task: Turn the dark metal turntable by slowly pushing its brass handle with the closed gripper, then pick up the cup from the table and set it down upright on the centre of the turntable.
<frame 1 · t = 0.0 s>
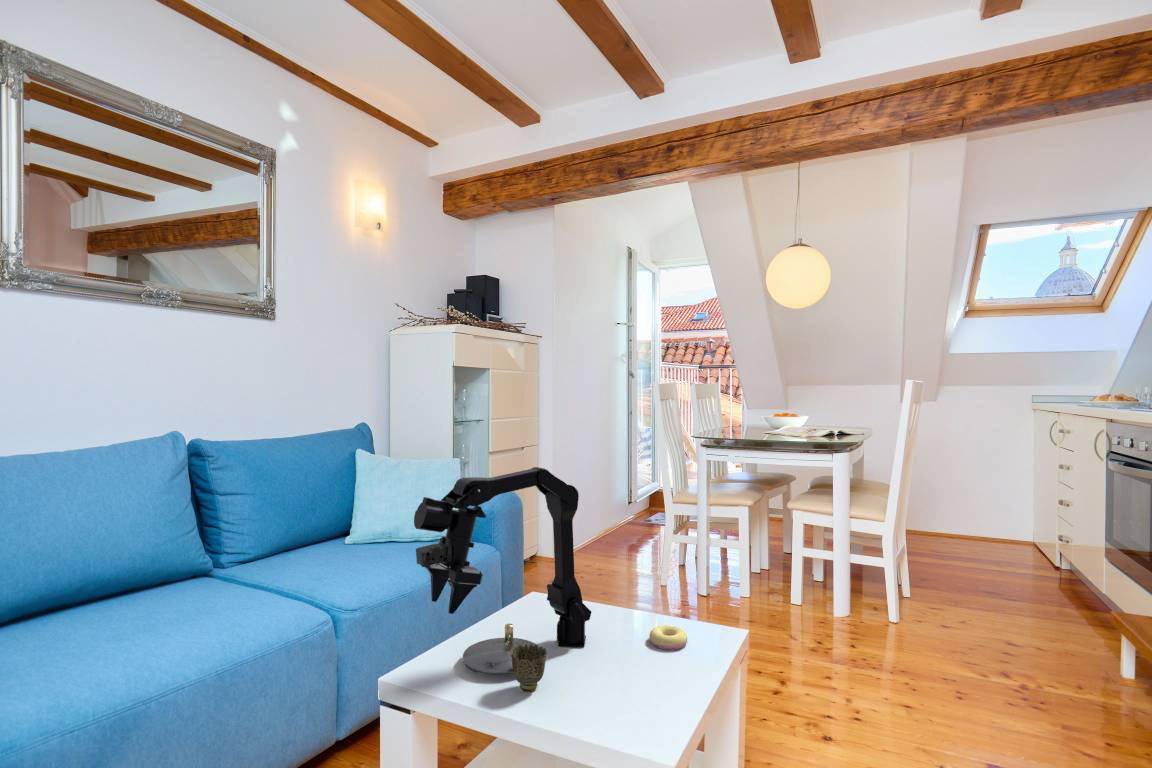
hand: (442, 607, 130), 15 cm above the table, tool pointing down, fingers open, 9 cm apart
donut: (668, 644, 150), on the table
cup: (528, 690, 126), on the table
turntable: (502, 647, 138), point 3 cm above the table, hinge at 0.0°
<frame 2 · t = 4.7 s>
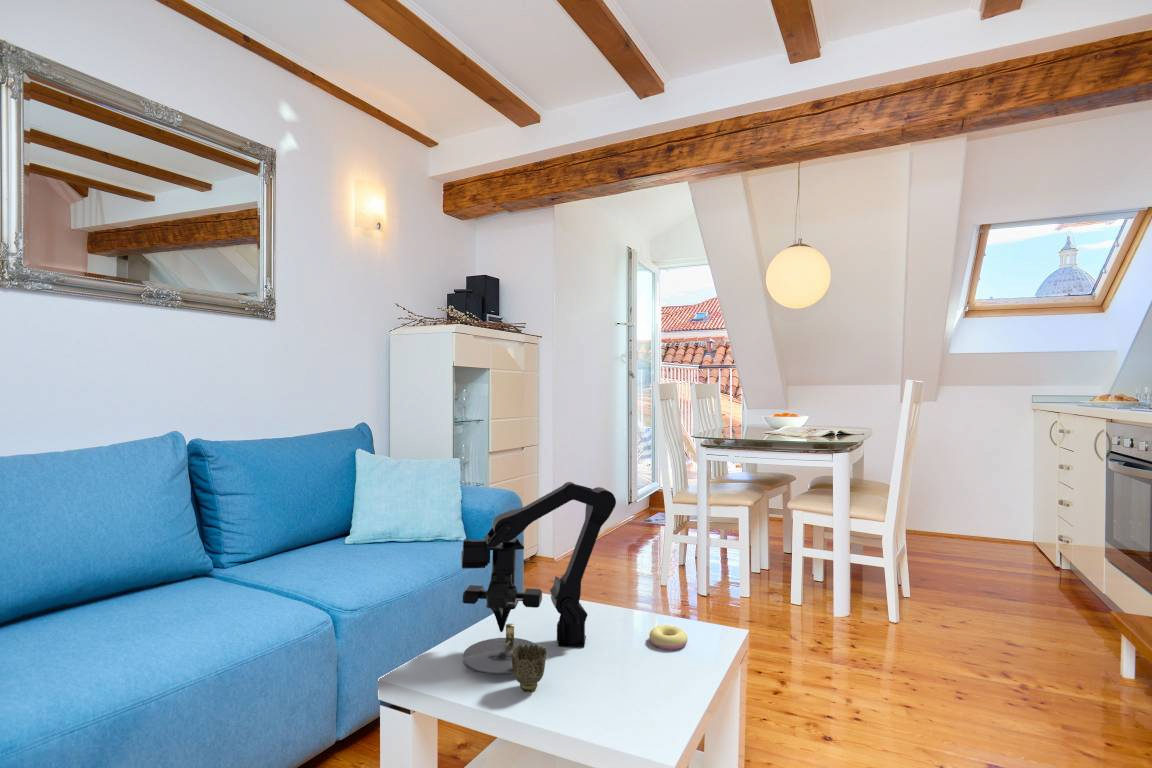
hand: (501, 631, 146), 4 cm above the table, tool pointing down, fingers closed
turntable: (502, 647, 138), point 3 cm above the table, hinge at -1.8°, touching gripper
everything else where it was.
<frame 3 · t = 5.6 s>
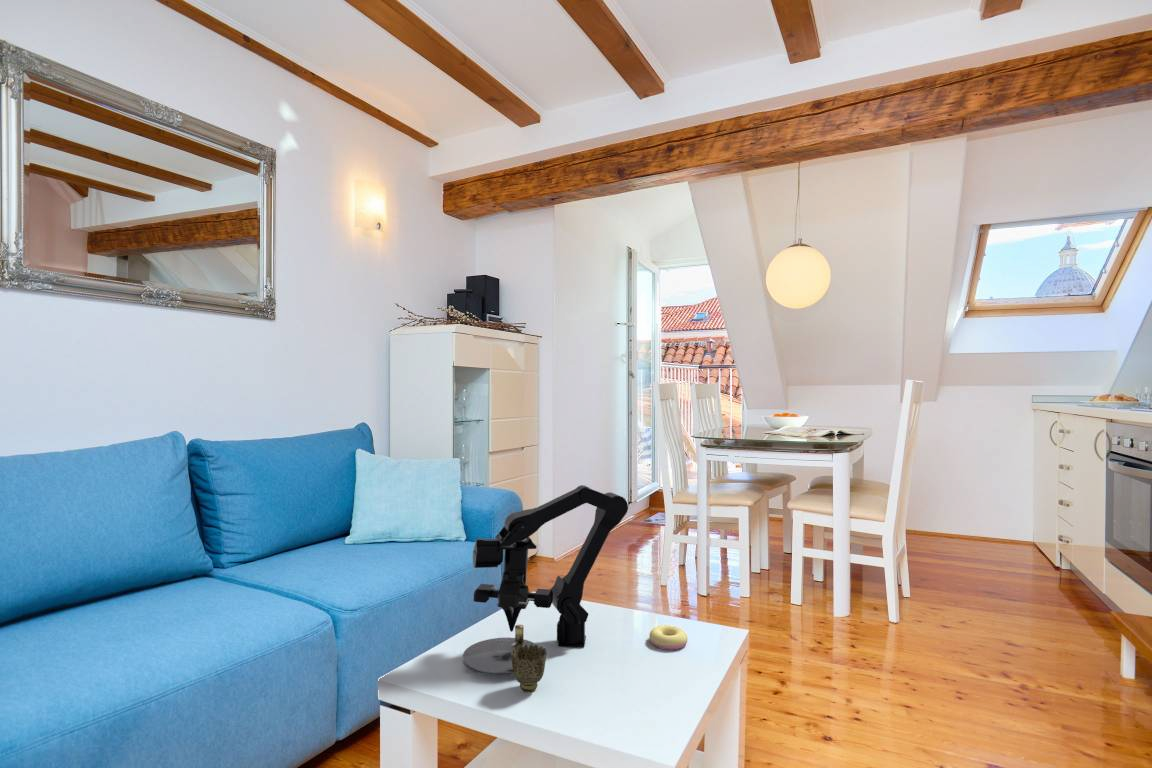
hand: (511, 631, 146), 4 cm above the table, tool pointing down, fingers closed
turntable: (502, 647, 138), point 3 cm above the table, hinge at -19.7°, touching gripper
everything else where it was.
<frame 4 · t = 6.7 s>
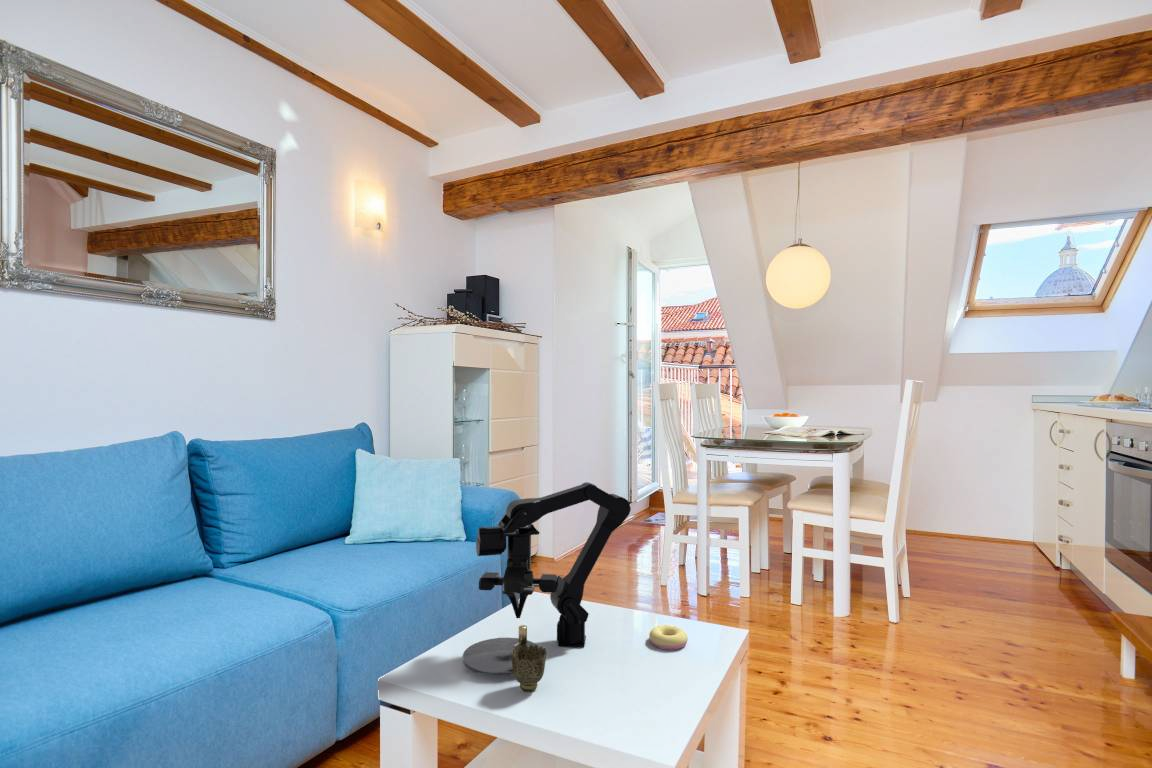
hand: (518, 617, 146), 8 cm above the table, tool pointing down, fingers closed
turntable: (502, 647, 138), point 3 cm above the table, hinge at -26.8°
everything else where it was.
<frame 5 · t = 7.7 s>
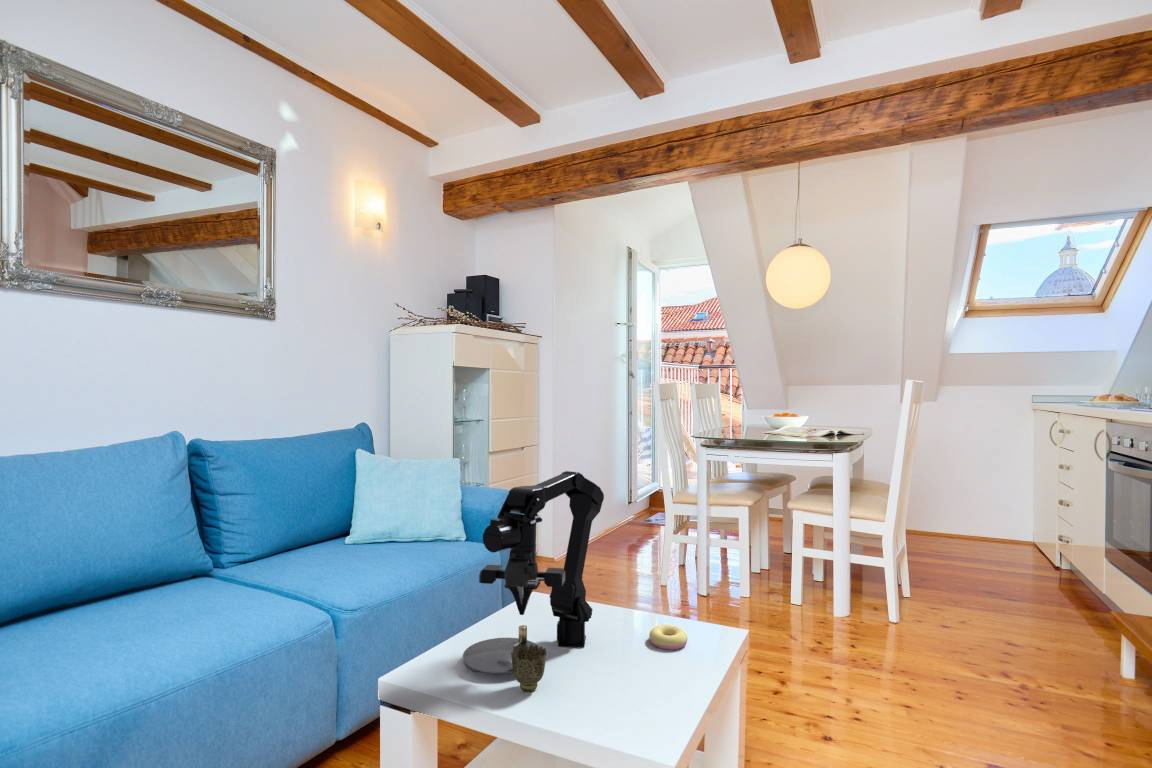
hand: (522, 614, 135), 12 cm above the table, tool pointing down, fingers closed
nothing on the table moved.
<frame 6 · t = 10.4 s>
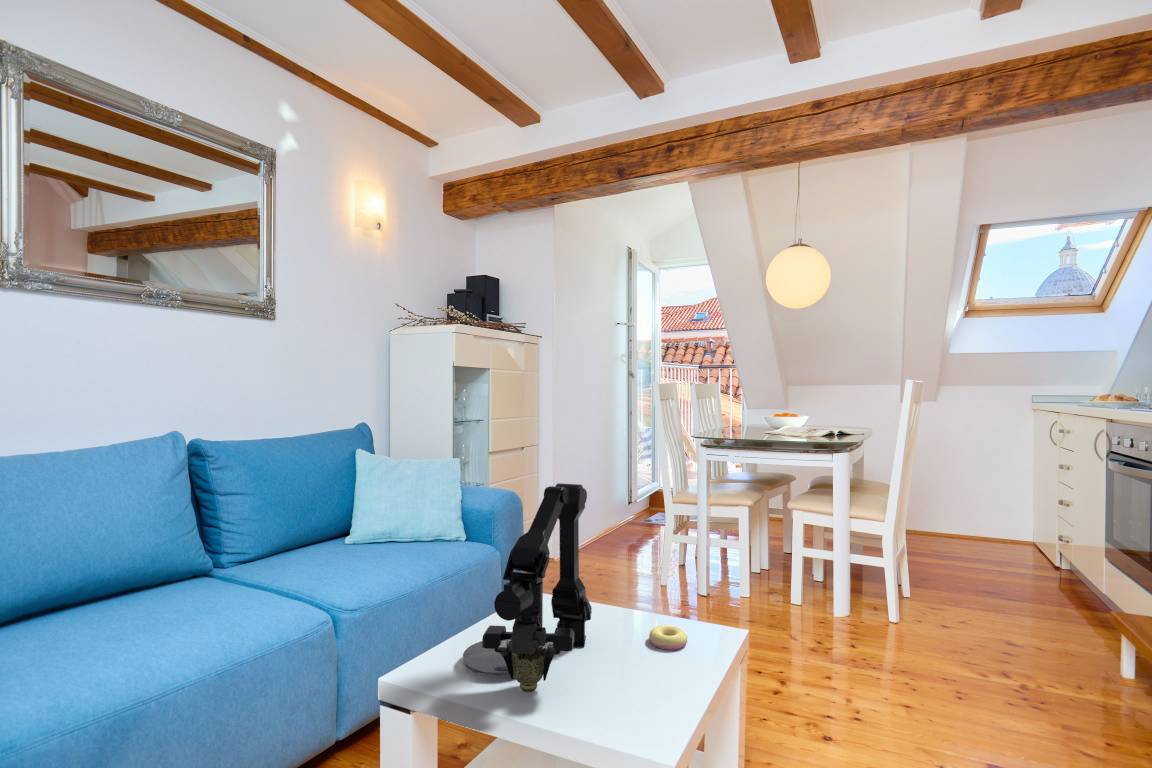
hand: (528, 679, 126), 2 cm above the table, tool pointing down, fingers closed on cup, 6 cm apart
cup: (528, 690, 126), on the table, touching gripper
everything else where it was.
when the fingers open (6 cm above the table, at t = 14.8 s): cup drops 1 cm, resting on turntable.
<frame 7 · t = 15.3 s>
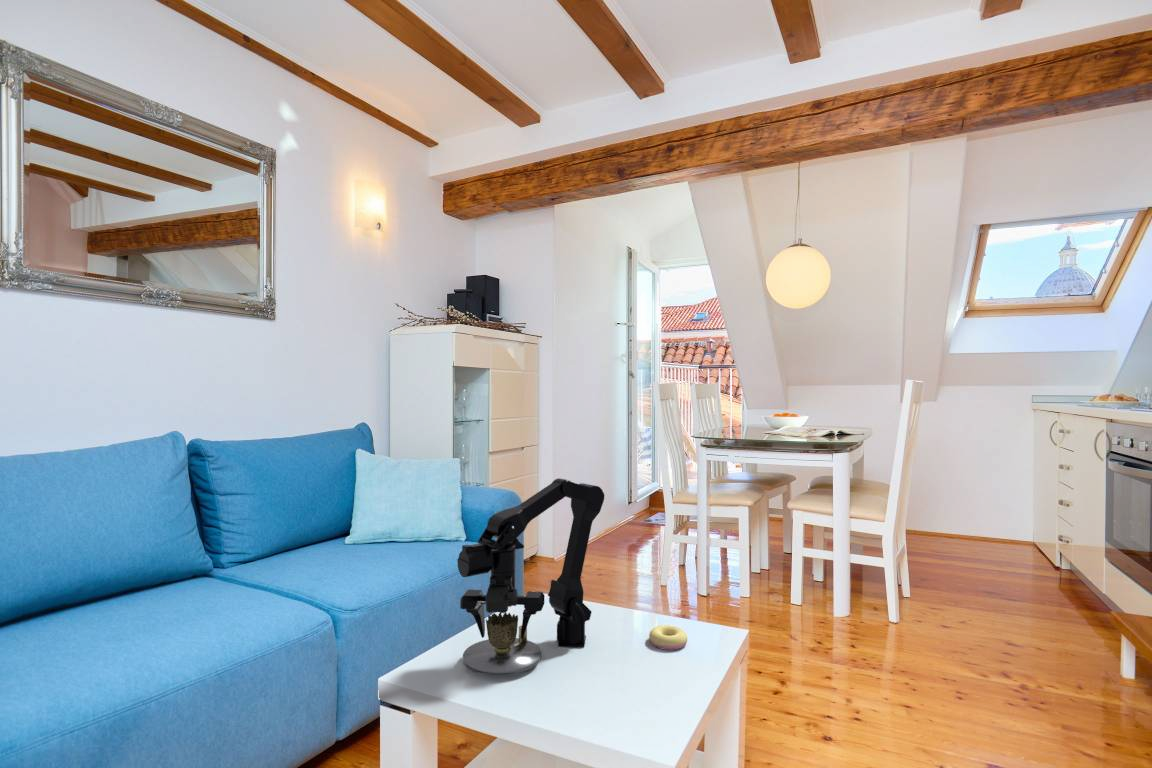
hand: (502, 637, 138), 6 cm above the table, tool pointing down, fingers open, 9 cm apart
cup: (502, 653, 138), point 2 cm above the table, touching turntable
turntable: (502, 647, 138), point 3 cm above the table, hinge at -26.8°, touching cup
everything else where it was.
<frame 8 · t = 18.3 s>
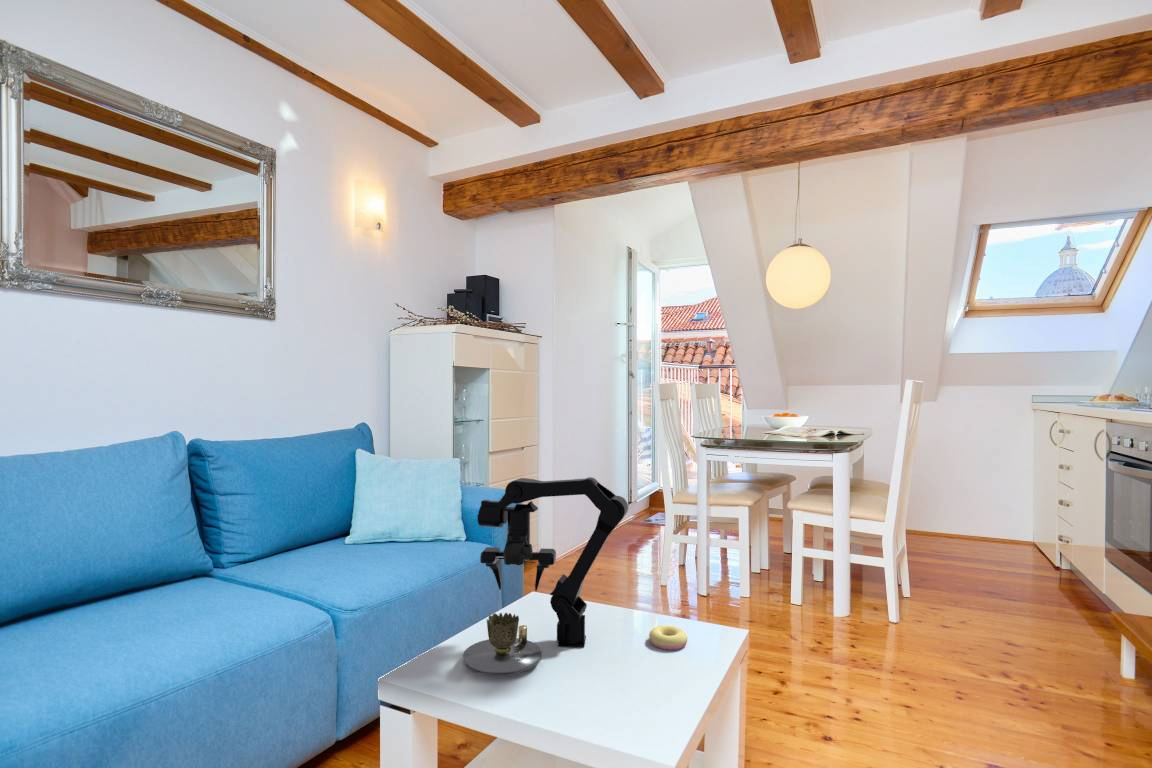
hand: (518, 589, 153), 12 cm above the table, tool pointing down, fingers open, 9 cm apart
nothing on the table moved.
at the end: turntable at -27° (first picture: +0°); cup 0.1 cm from the turntable (horizontally); cup tilted 0° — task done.
